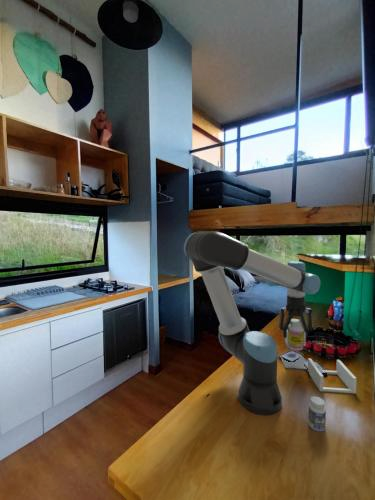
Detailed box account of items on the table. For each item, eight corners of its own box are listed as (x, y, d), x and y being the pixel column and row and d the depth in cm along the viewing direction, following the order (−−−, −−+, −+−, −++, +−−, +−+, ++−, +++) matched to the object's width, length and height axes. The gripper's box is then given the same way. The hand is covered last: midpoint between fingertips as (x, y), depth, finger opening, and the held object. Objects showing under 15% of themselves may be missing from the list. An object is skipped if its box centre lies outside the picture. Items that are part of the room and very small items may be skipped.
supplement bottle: (288, 350, 109) (289, 322, 108) (285, 343, 116) (286, 317, 115) (304, 351, 108) (305, 323, 107) (300, 344, 114) (301, 318, 113)
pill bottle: (316, 433, 73) (317, 407, 73) (304, 421, 78) (305, 397, 77) (328, 429, 75) (329, 404, 74) (317, 418, 79) (317, 394, 79)
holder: (319, 390, 93) (320, 376, 92) (307, 371, 105) (307, 358, 105) (355, 393, 91) (356, 378, 90) (339, 373, 104) (339, 359, 103)
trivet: (285, 368, 108) (285, 367, 108) (279, 356, 118) (279, 355, 118) (311, 370, 106) (311, 369, 106) (302, 357, 117) (302, 356, 117)
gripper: (275, 297, 107) (274, 347, 109) (322, 298, 105) (321, 349, 107) (271, 293, 115) (271, 339, 117) (315, 293, 112) (314, 341, 114)
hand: (295, 344), depth 112 cm, fingers closed on supplement bottle, 7 cm apart
